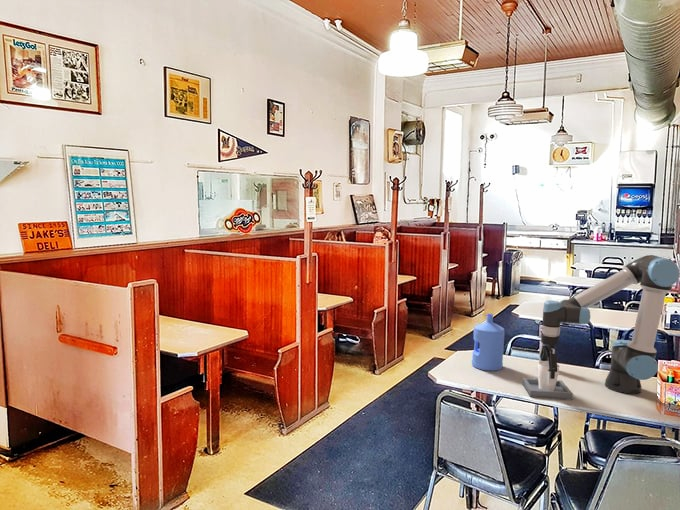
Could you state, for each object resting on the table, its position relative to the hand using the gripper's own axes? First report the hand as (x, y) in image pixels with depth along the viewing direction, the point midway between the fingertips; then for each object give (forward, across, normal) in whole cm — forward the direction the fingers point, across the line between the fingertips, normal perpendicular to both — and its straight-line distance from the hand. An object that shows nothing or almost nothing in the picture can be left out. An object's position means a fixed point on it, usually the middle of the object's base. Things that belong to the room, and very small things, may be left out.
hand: (547, 379), depth 232 cm
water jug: (+6, -31, -22) cm, 38 cm away
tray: (+6, 0, 0) cm, 6 cm away
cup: (+5, 0, 0) cm, 5 cm away
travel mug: (+6, -34, +8) cm, 35 cm away
